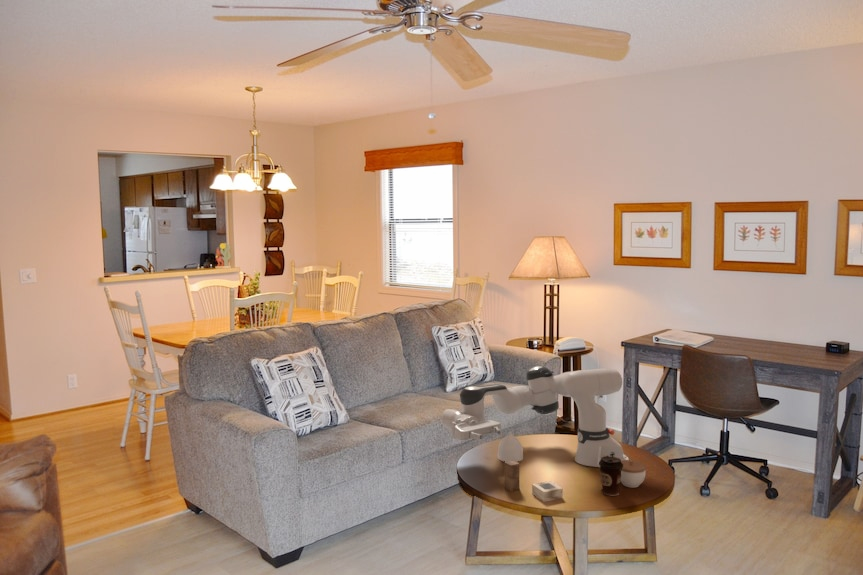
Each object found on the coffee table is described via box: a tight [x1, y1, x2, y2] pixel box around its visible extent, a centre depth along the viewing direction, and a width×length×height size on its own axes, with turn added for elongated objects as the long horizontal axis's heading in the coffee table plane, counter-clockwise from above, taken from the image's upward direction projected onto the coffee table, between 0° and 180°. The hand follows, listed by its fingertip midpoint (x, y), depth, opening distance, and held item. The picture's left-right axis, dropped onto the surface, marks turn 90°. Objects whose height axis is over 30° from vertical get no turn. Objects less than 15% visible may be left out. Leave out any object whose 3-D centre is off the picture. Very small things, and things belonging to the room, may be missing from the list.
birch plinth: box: [531, 480, 564, 503], centre depth 251 cm, size 8×8×4 cm
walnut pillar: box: [503, 460, 520, 492], centre depth 258 cm, size 4×4×10 cm
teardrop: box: [496, 430, 524, 463], centre depth 290 cm, size 11×11×12 cm
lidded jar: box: [620, 459, 647, 489], centre depth 260 cm, size 11×11×9 cm
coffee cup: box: [599, 456, 623, 497], centre depth 252 cm, size 9×8×13 cm
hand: (490, 434), depth 266 cm, fingers open, 8 cm apart
